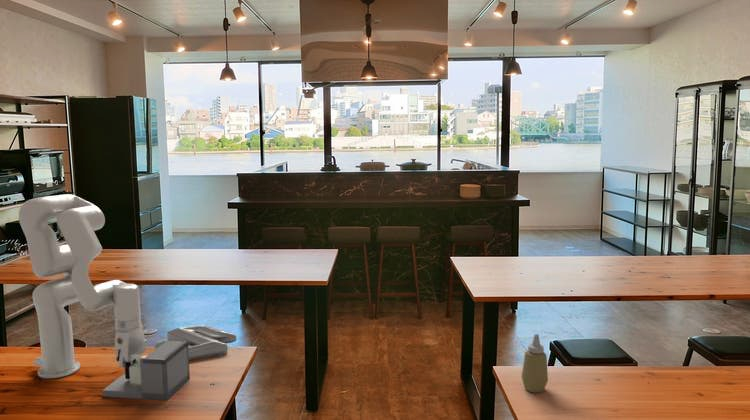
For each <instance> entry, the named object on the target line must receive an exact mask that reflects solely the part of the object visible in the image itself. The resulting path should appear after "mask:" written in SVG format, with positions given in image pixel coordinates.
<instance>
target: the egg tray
mask: <svg viewBox="0 0 750 420" xmlns="http://www.w3.org/2000/svg"><path fill="white" fill-rule="evenodd" d="M146 356H147V355H140V356H139V357H138V361H137V362H136V363H134V364H133V365H132V366H130V367H129V374H130V385H131V386H142V385H141V370H140V358H141V357H146Z"/></svg>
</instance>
